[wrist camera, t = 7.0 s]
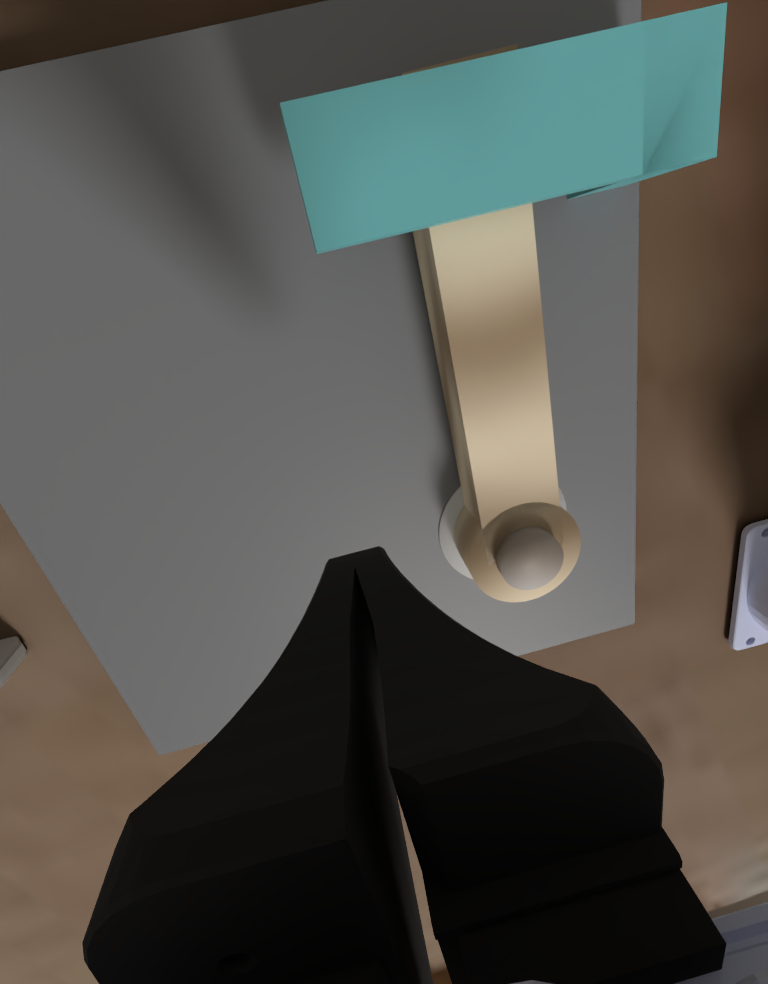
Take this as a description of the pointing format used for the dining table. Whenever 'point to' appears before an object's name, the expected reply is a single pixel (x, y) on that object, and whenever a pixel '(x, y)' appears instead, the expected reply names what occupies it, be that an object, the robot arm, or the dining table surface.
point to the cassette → (10, 657)
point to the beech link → (498, 397)
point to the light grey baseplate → (272, 355)
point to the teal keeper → (508, 128)
